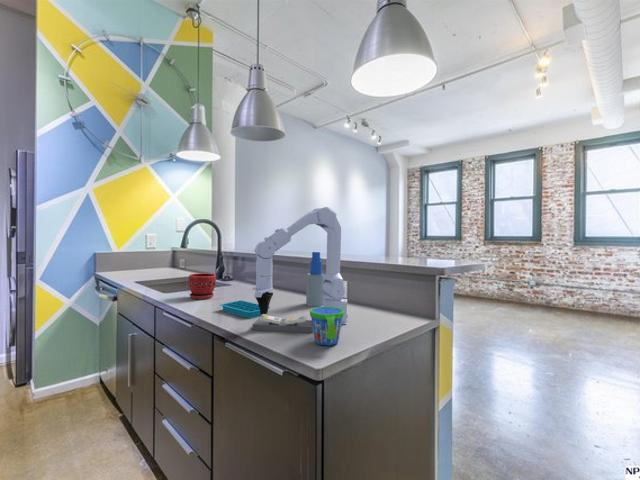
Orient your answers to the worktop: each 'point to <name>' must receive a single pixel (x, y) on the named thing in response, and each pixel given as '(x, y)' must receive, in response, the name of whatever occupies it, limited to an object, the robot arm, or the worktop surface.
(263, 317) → the outlet rocker
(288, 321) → the rocker switch
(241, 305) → the ice cube tray
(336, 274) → the robot arm
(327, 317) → the snack cup
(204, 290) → the plant pot
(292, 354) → the worktop surface
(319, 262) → the spray bottle
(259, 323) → the power strip
